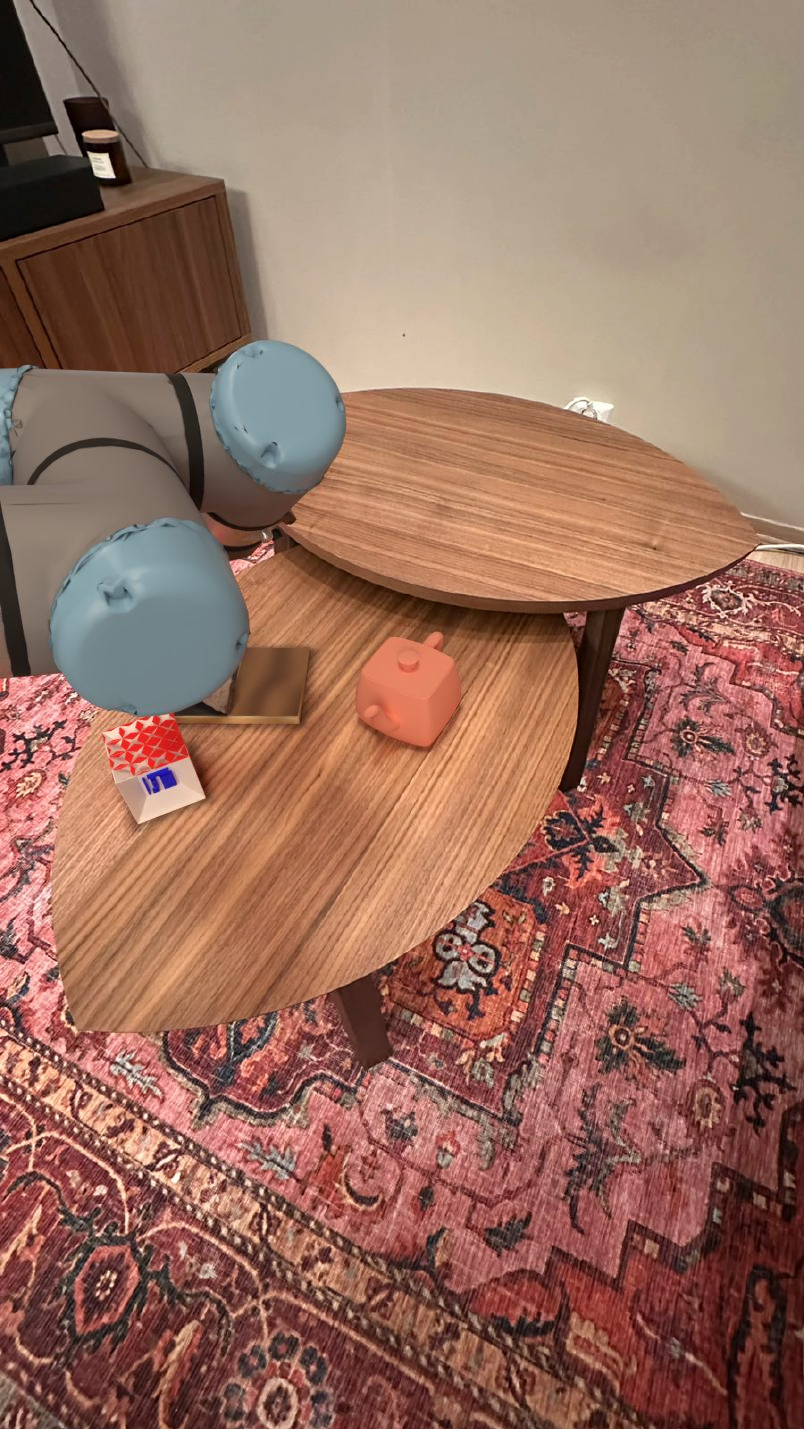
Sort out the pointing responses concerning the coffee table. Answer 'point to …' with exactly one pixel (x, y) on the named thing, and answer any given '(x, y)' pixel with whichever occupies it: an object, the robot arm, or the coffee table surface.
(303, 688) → the board
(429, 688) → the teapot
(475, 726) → the coffee table surface
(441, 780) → the coffee table surface
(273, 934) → the coffee table surface
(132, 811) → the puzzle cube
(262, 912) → the coffee table surface
